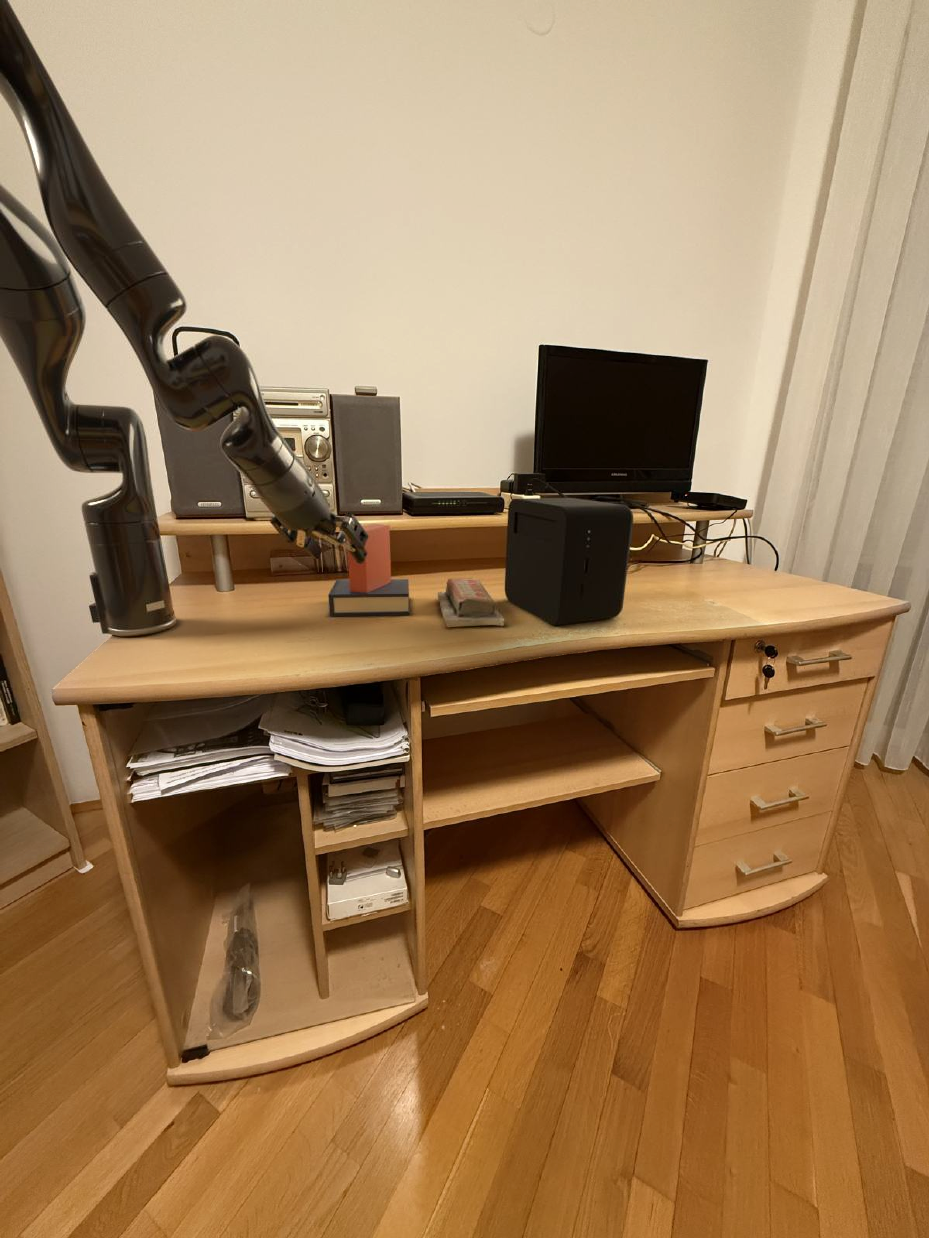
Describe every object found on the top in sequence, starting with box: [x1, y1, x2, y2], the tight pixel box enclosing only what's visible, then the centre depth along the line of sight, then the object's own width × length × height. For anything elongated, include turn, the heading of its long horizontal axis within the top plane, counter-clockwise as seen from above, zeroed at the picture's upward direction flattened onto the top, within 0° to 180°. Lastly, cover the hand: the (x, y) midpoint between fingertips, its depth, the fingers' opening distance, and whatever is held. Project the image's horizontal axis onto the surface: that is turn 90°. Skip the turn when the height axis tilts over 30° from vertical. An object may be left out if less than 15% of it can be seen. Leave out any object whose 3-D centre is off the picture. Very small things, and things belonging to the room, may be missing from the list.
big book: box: [327, 578, 410, 617], centre depth 92 cm, size 14×11×4 cm
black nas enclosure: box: [504, 497, 634, 626], centre depth 90 cm, size 20×15×20 cm
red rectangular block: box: [346, 523, 392, 593], centre depth 89 cm, size 9×4×11 cm, turn 160°
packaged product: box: [437, 577, 505, 628], centre depth 90 cm, size 18×5×10 cm
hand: (340, 557), depth 81 cm, fingers open, 8 cm apart
